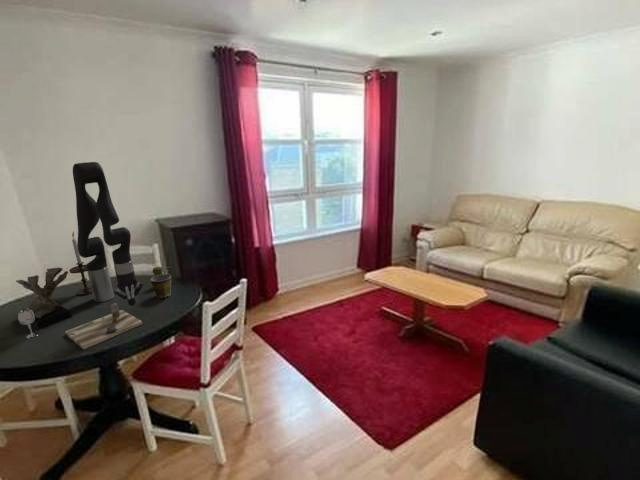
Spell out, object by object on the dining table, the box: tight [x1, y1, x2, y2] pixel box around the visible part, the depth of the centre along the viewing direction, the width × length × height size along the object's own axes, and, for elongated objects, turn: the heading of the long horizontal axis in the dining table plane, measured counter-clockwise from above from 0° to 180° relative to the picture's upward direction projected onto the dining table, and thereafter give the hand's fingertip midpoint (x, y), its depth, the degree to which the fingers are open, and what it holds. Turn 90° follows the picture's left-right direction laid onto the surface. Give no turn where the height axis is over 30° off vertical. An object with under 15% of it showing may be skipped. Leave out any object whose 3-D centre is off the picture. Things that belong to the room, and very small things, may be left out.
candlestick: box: [68, 231, 93, 297], centre depth 197 cm, size 11×11×35 cm
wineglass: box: [17, 307, 40, 339], centre depth 157 cm, size 6×6×12 cm
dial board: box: [64, 309, 143, 350], centre depth 160 cm, size 20×24×2 cm
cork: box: [152, 266, 164, 277], centre depth 204 cm, size 6×6×11 cm
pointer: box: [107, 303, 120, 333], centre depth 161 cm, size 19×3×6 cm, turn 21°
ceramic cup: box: [150, 273, 172, 299], centre depth 192 cm, size 13×10×10 cm
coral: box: [15, 267, 73, 330], centre depth 175 cm, size 25×20×22 cm
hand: (132, 305), depth 171 cm, fingers closed
